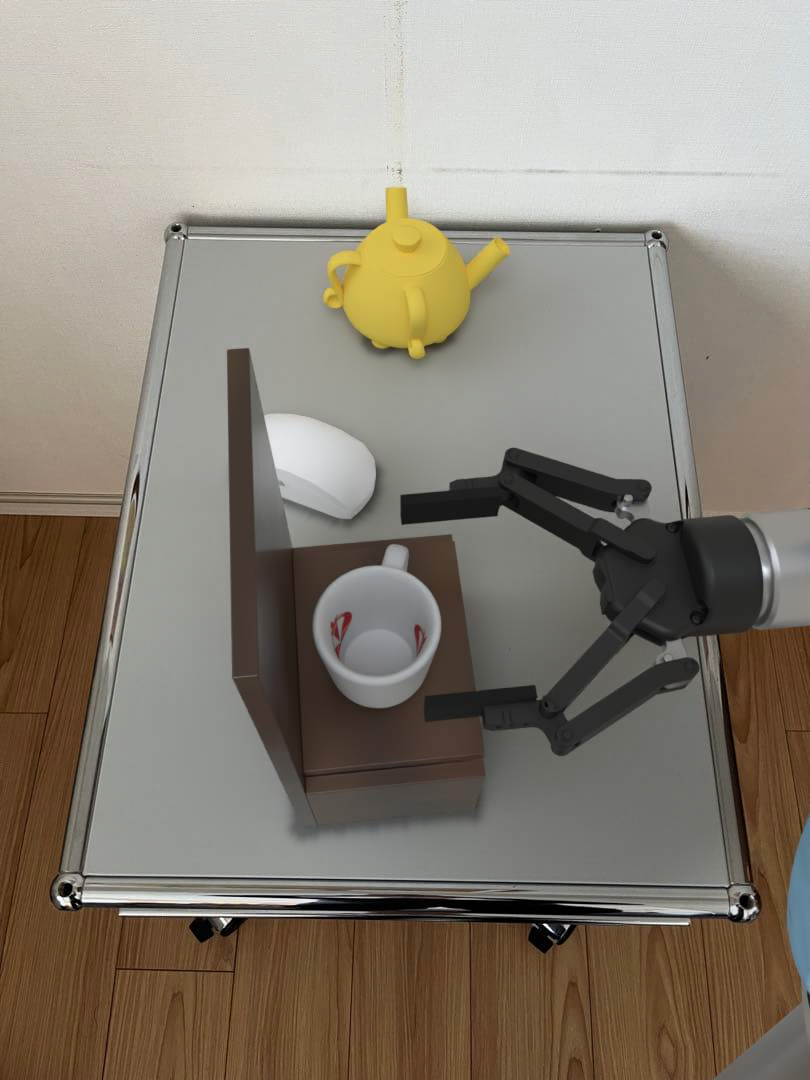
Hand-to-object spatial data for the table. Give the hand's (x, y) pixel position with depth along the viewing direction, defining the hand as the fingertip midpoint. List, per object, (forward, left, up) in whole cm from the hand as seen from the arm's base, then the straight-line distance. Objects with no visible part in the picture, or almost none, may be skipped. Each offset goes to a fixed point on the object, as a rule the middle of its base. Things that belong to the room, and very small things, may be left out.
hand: (411, 604), depth 58 cm
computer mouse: (+23, -4, -20) cm, 30 cm away
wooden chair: (+1, +2, -19) cm, 20 cm away
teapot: (+34, -23, -20) cm, 46 cm away
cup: (+1, +2, -8) cm, 8 cm away
